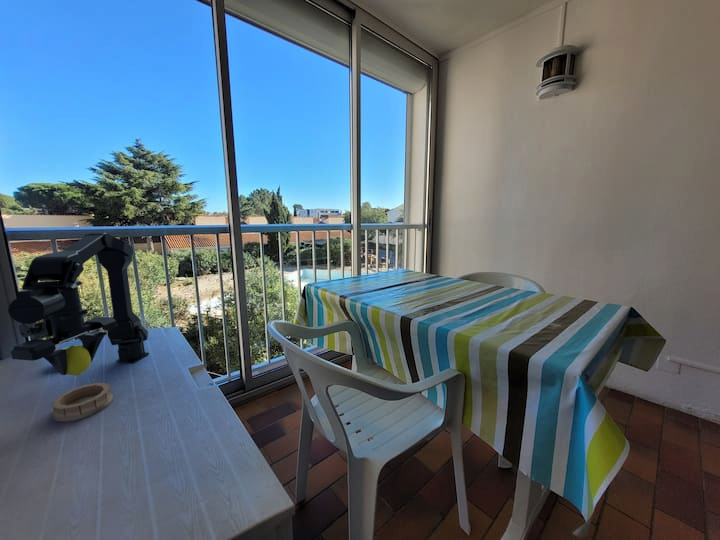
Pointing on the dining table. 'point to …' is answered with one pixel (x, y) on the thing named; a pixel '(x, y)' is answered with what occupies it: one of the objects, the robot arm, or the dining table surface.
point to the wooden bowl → (81, 402)
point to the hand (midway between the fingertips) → (77, 368)
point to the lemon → (77, 360)
